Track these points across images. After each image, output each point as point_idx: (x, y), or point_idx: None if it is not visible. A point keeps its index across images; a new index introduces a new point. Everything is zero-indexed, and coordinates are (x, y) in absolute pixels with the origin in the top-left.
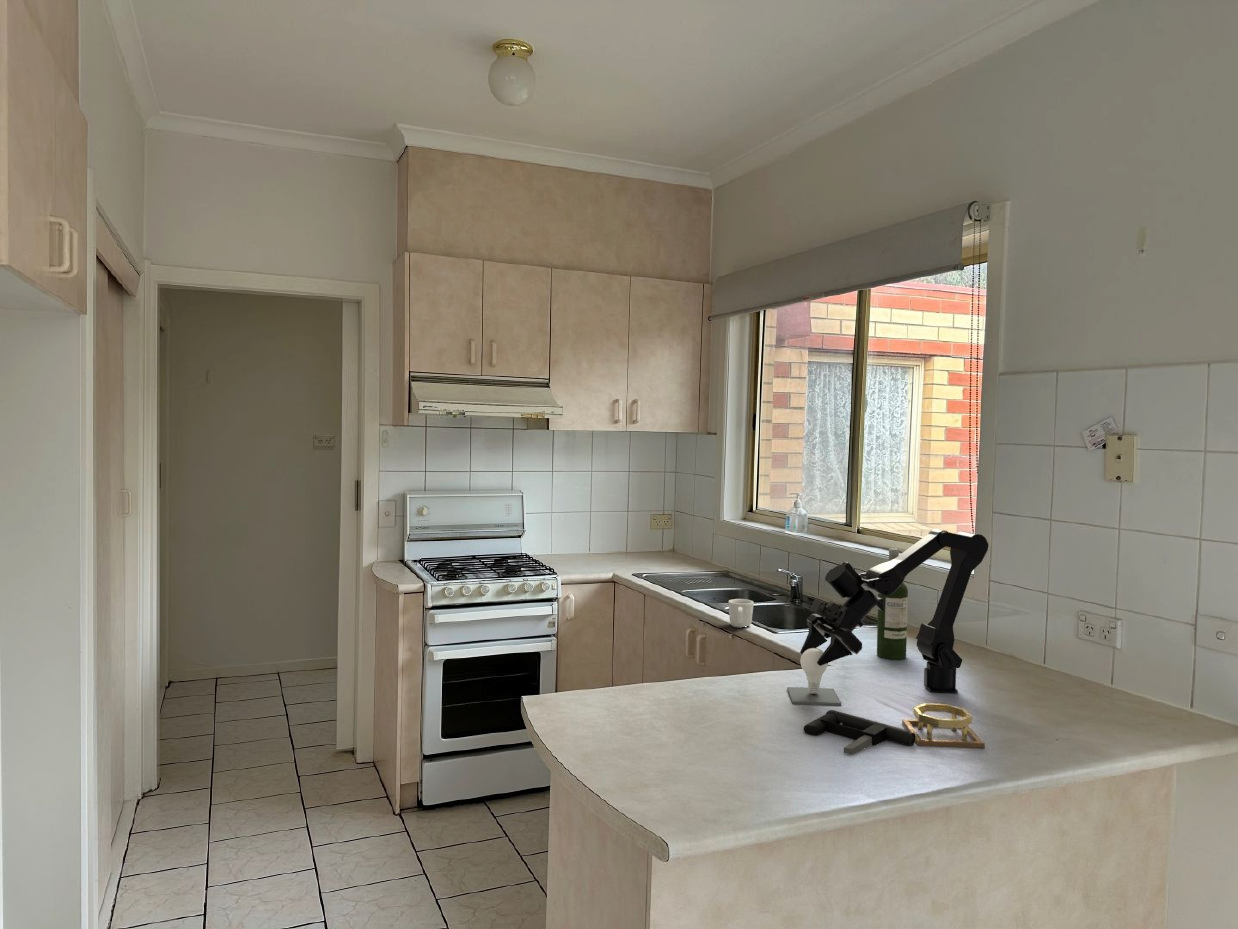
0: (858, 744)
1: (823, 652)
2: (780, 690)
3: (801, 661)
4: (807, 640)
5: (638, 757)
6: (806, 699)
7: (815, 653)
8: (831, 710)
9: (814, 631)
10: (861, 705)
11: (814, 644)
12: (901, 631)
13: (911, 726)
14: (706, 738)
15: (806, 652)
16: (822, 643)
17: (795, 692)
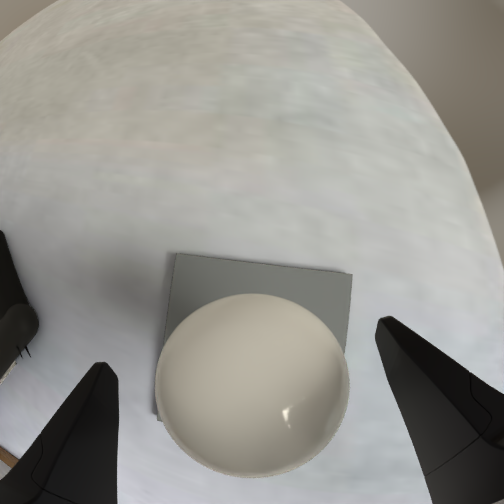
0: None
1: (222, 469)
2: (339, 247)
3: (239, 294)
4: (446, 388)
5: (36, 34)
6: (194, 310)
7: (173, 396)
8: (8, 318)
9: (497, 473)
10: (168, 473)
11: (425, 437)
12: None
13: (10, 466)
14: (42, 73)
15: (227, 332)
16: (430, 488)
17: (283, 290)
